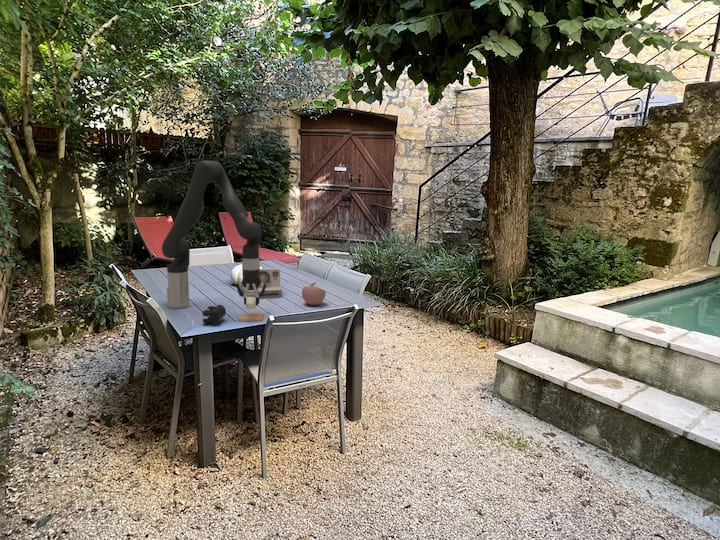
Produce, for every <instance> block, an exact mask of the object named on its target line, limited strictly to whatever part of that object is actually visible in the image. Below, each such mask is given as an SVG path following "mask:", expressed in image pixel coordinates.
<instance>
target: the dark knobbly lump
mask: <svg viewBox="0 0 720 540" xmlns="http://www.w3.org/2000/svg"><path fill="white" fill-rule="evenodd" d="M226 314H227V310H226V308H225V306H224V305H221V304H218V305H217V306H207V309H204V310H203V311H202V316H203V317H207V318H203V319H202V323H203V326H204V325H214V326H215V325H217V324H218V323H219V322H221V320H222V319H223V318H224V317H225V316H226Z"/></svg>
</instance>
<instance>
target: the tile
mask: <svg viewBox="0 0 720 540" xmlns="http://www.w3.org/2000/svg"><path fill="white" fill-rule="evenodd" d="M263 316H265V312H241V314H240V315H239V318H238V322H263V320H262V319H264V317H263Z"/></svg>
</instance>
